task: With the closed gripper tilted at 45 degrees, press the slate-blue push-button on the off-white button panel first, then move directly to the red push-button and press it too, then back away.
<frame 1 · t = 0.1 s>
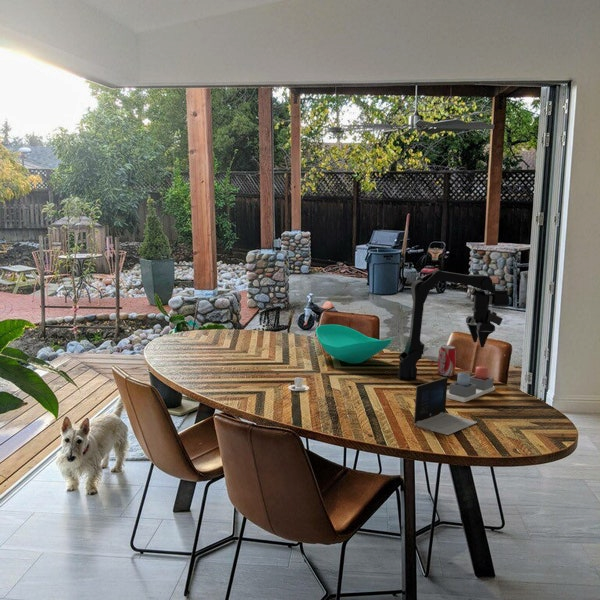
hand: (478, 344, 260), 15 cm above the table, tool pointing down, fingers open, 9 cm apart
slate button: (463, 380, 235), point 6 cm above the table, slide at 0.0 cm
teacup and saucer: (291, 390, 239), on the table
laptop: (445, 425, 206), on the table
button panel: (467, 393, 243), on the table
red button: (481, 374, 246), point 6 cm above the table, slide at 0.0 cm
soda can: (445, 375, 268), on the table
table top decor: (351, 362, 285), on the table
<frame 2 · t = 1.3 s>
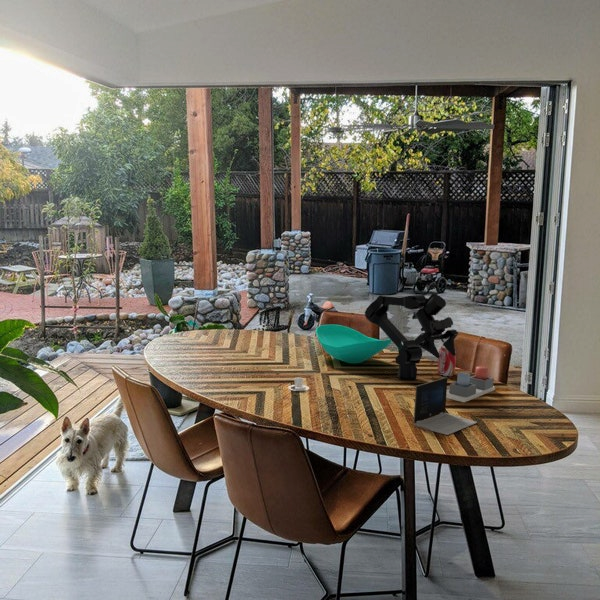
hand: (447, 356, 242), 13 cm above the table, tool tilted 45°, fingers open, 8 cm apart
nothing on the table moved.
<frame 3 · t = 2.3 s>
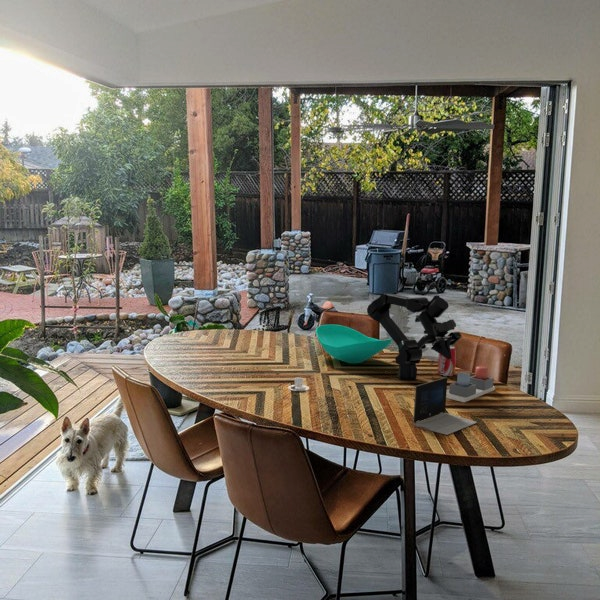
hand: (450, 359, 240), 13 cm above the table, tool tilted 45°, fingers closed
nothing on the table moved.
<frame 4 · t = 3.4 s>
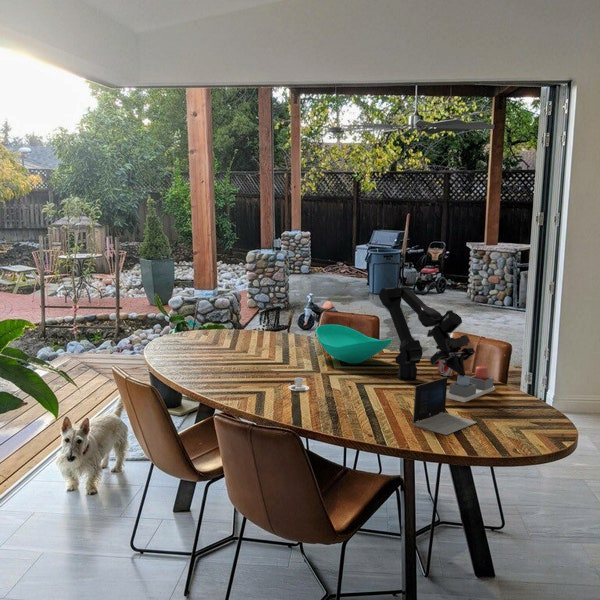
hand: (463, 375, 235), 8 cm above the table, tool tilted 45°, fingers closed, pressing on slate button
slate button: (463, 383, 236), point 5 cm above the table, slide at 1.0 cm, touching gripper
everything else where it was.
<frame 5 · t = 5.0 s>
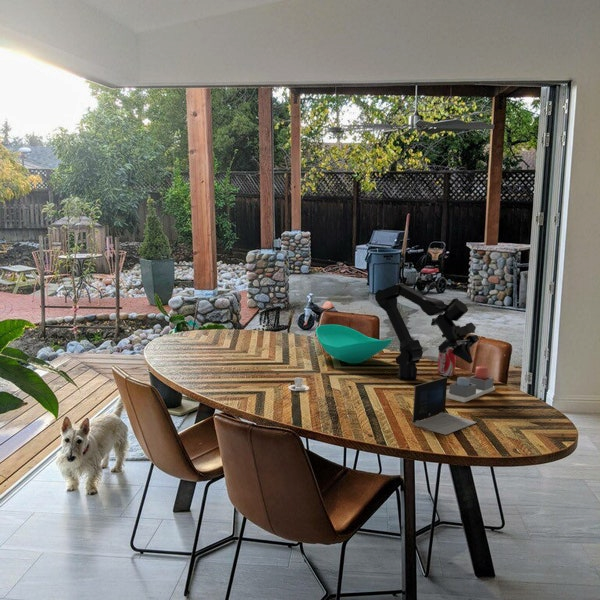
hand: (471, 362, 237), 13 cm above the table, tool tilted 45°, fingers closed
slate button: (463, 385, 236), point 4 cm above the table, slide at 1.9 cm
everything else where it was.
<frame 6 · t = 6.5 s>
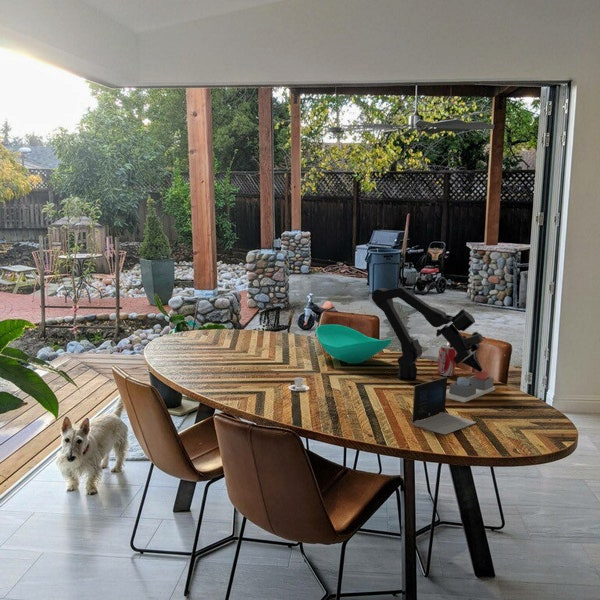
hand: (481, 370, 246), 8 cm above the table, tool tilted 45°, fingers closed, pressing on red button
red button: (481, 378, 246), point 5 cm above the table, slide at 1.6 cm, touching gripper
everything else where it was.
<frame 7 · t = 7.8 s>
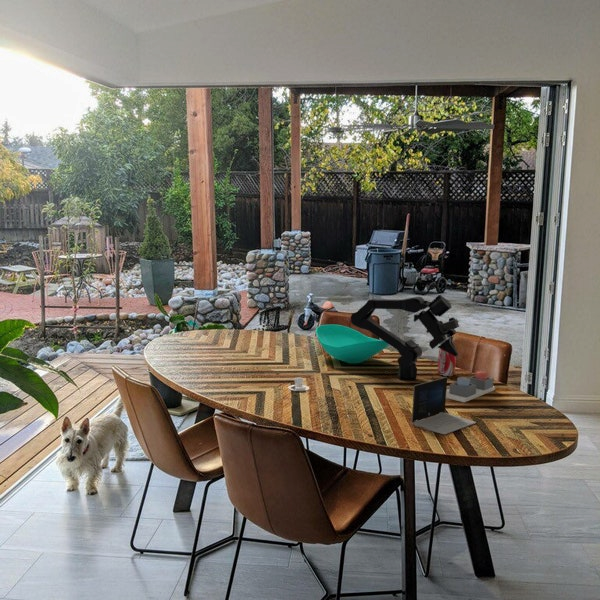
hand: (457, 355, 249), 12 cm above the table, tool tilted 45°, fingers closed
red button: (480, 379, 246), point 4 cm above the table, slide at 1.9 cm
everything else where it was.
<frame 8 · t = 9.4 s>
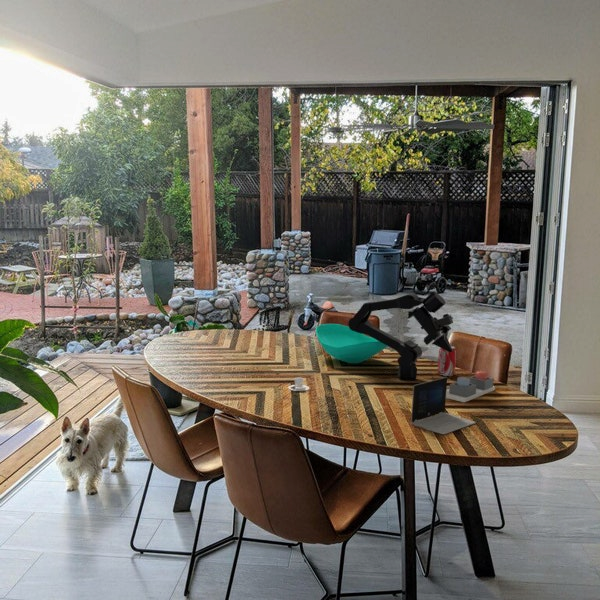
hand: (451, 351, 250), 13 cm above the table, tool tilted 45°, fingers closed
table top decor: (351, 361, 286), on the table, touching arm
everything else where it was.
at the end: slate button slide at 1.9 cm; red button slide at 1.9 cm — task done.
